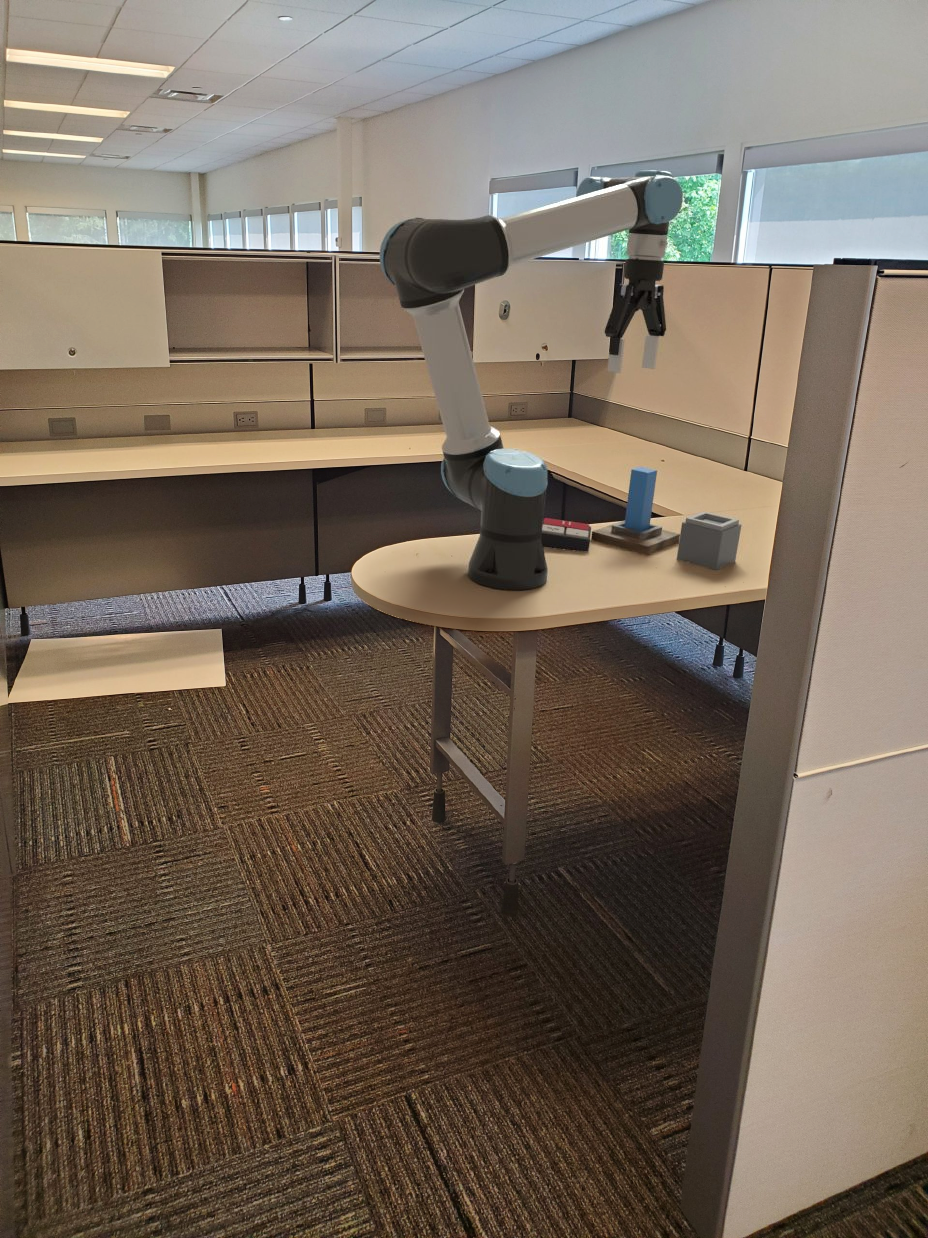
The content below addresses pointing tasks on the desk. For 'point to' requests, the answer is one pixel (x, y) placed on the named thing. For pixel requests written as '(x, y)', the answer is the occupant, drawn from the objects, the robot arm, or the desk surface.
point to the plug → (640, 498)
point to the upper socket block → (709, 540)
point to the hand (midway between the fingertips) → (631, 370)
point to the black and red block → (565, 535)
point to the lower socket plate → (636, 538)
